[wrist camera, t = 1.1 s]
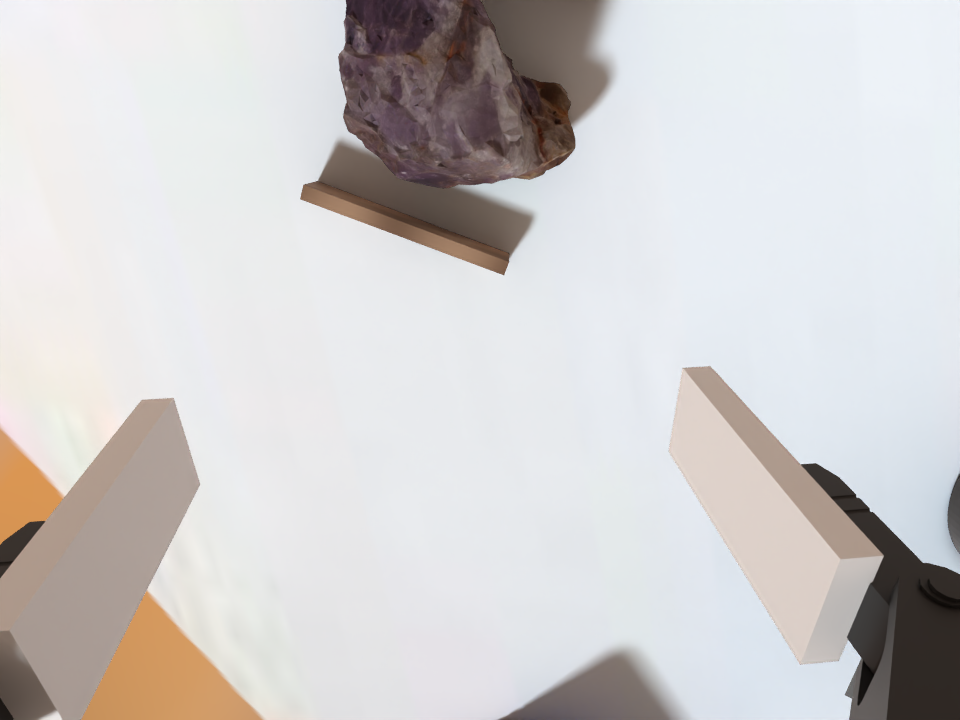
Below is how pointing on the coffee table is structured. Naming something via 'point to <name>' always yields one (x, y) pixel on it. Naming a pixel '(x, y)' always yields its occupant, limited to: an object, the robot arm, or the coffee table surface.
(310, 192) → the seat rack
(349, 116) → the rock
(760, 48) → the coffee table surface
